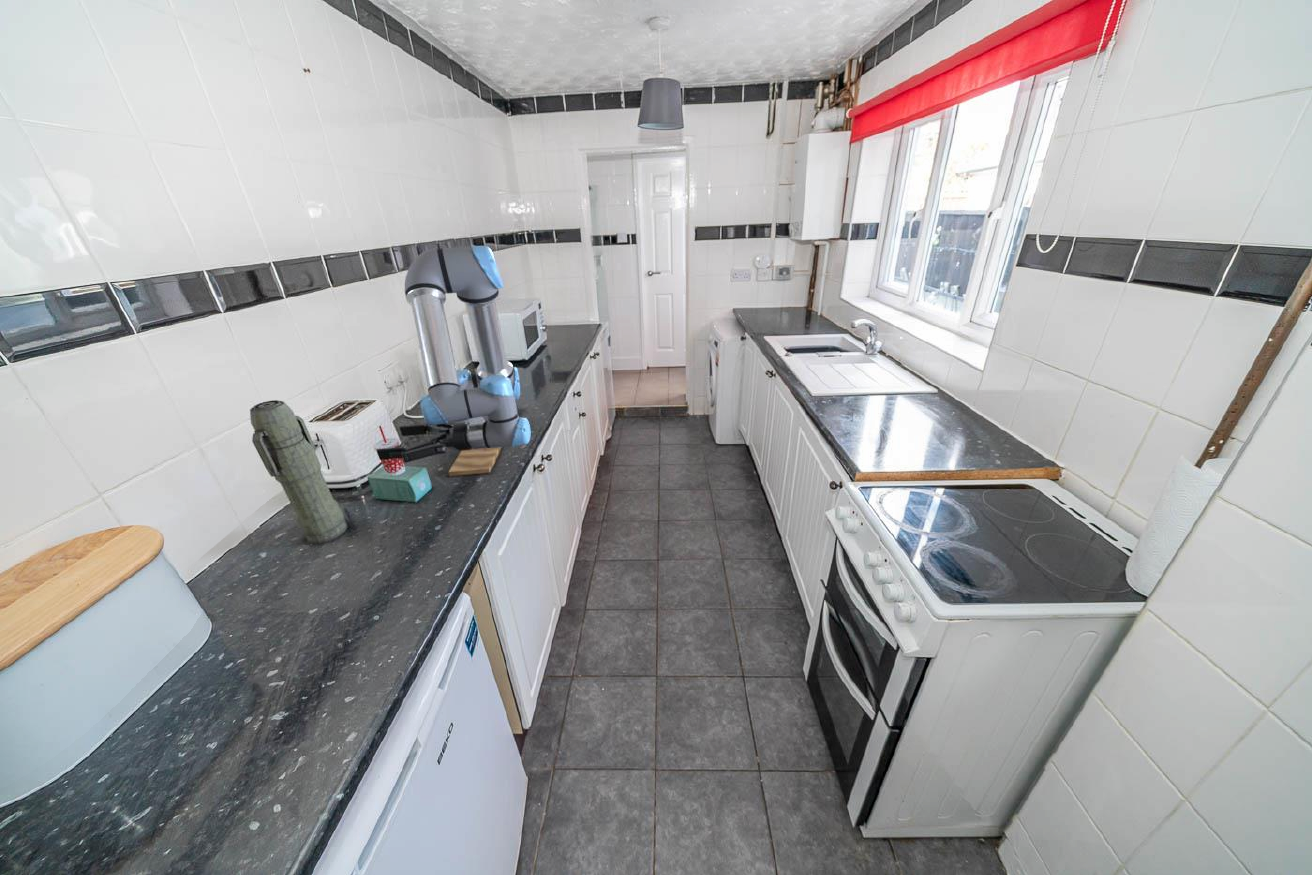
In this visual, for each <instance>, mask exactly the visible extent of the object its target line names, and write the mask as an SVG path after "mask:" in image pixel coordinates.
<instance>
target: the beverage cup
mask: <svg viewBox="0 0 1312 875" xmlns="http://www.w3.org/2000/svg"><path fill="white" fill-rule="evenodd" d="M378 428H379V431H380V433H381V435H382V439H380V440H378V441H376V442H375V443H374V444H373V445H372V447H373V449H374V451H376V450H377V449H386V448H398V447H400V440H399V438H396V437H390V438H386V436H385V433H384V431H383V427H382V425H379V426H378ZM380 462H381V464H382V467H383V466H384V469H385V471H386V473H387V475H388V476H397V475H400V474H402V473H403V472H405V470H406V469H405V466H406V465H405V462H404V459H403V458H396V459H384V460H380Z"/></svg>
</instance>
